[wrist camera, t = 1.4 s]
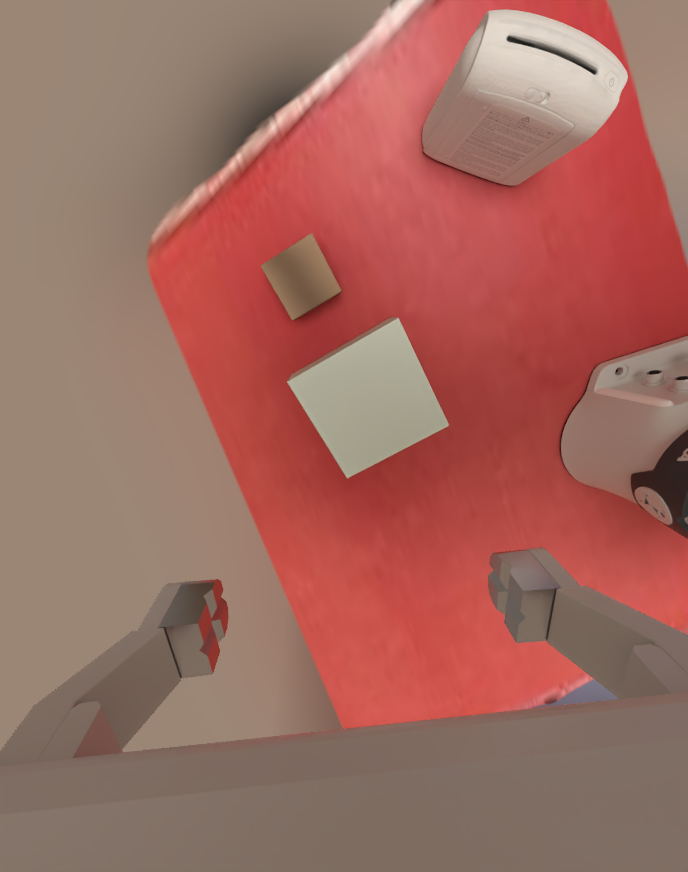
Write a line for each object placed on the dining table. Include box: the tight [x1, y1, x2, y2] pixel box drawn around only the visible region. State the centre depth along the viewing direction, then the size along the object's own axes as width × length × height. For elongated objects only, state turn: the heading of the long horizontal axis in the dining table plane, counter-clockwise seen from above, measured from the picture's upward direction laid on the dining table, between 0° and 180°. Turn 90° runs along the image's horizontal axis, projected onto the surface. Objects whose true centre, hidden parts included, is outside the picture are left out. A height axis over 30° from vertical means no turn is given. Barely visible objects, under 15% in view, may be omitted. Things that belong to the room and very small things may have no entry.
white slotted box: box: [422, 10, 628, 186], centre depth 25 cm, size 10×4×12 cm, turn 75°
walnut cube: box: [261, 233, 341, 320], centre depth 32 cm, size 5×5×5 cm
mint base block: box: [287, 317, 449, 478], centre depth 36 cm, size 12×12×4 cm
